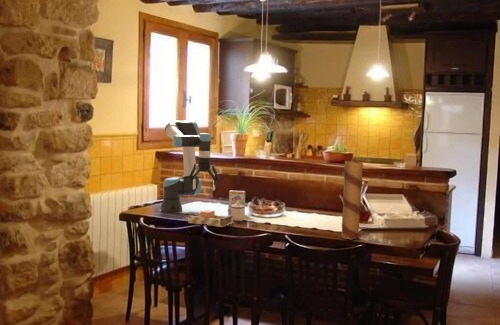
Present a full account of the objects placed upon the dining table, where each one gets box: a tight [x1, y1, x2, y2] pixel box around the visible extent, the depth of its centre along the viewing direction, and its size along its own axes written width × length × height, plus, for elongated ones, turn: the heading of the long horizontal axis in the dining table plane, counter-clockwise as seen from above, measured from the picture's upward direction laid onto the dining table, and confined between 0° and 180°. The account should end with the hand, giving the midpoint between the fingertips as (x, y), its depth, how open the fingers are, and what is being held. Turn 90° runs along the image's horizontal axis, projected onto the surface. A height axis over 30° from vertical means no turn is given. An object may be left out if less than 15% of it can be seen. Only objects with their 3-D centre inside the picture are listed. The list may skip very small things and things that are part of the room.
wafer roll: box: [341, 160, 364, 241], centre depth 331 cm, size 10×11×45 cm
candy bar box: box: [227, 189, 246, 216], centre depth 397 cm, size 11×5×16 cm, turn 84°
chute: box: [187, 212, 234, 228], centre depth 366 cm, size 25×14×5 cm, turn 64°
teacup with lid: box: [227, 202, 245, 222], centre depth 381 cm, size 12×9×12 cm
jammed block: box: [199, 209, 216, 219], centre depth 367 cm, size 6×8×6 cm
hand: (203, 189), depth 373 cm, fingers open, 13 cm apart
